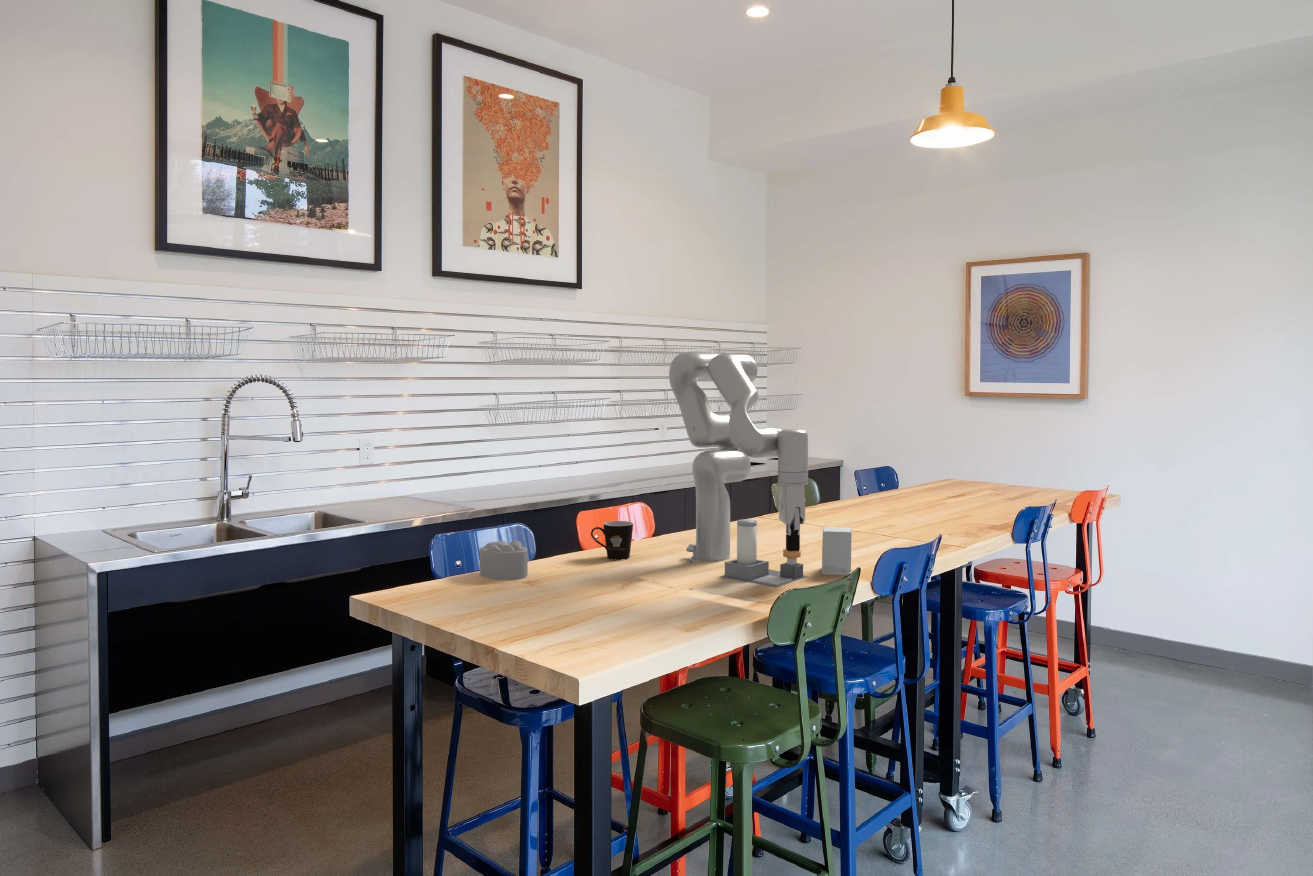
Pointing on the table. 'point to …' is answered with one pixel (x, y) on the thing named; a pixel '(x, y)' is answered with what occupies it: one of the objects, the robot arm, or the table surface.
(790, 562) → the glossy orange sphere
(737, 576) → the grey compartment tray
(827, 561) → the supplement box
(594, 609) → the table surface
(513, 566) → the lumpy-topped squat cylinder
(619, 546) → the coffee mug
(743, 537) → the cylinder
